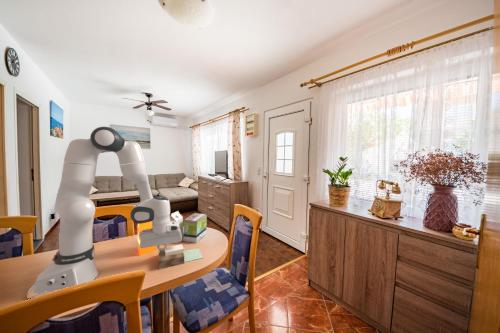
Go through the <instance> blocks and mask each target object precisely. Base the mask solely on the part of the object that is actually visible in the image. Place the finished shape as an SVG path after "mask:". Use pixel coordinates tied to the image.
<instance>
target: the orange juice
mask: <svg viewBox="0 0 500 333" xmlns="http://www.w3.org/2000/svg"><path fill="white" fill-rule="evenodd" d="M151 228H152V222H147V223H142V224H138V223H137V227H136V229H137V250H138V254H139V256H144V255H147V254H151V253H155V252H157V251H158V249H157V246H153V247H148V248H143V249H142V248H140V240H141V239H140V238H139V232H140V231H142V230H144V229H151Z"/></svg>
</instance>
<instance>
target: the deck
mask: <svg viewBox="0 0 500 333" xmlns="http://www.w3.org/2000/svg"><path fill="white" fill-rule="evenodd" d="M183 264H185V262H184V253H178V254H174V255H169V256H165V252H163V253H159V252H158V269H159V270H163V269H166V268H171V267H175V266H180V265H183Z"/></svg>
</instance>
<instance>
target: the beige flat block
mask: <svg viewBox="0 0 500 333" xmlns="http://www.w3.org/2000/svg"><path fill="white" fill-rule="evenodd" d="M184 251H185V250H184V246H183V243H182V244H180V243H179V244H176V245H170V246H167V247H166V249H165V256H169V255H174V254H178V253H183V252H184Z"/></svg>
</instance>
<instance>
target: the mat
mask: <svg viewBox="0 0 500 333" xmlns="http://www.w3.org/2000/svg"><path fill="white" fill-rule="evenodd" d="M183 253H184V263H187V262H192V261H196V260H200V259H201V260H202V259H204V257H203V254H202V252H201V250H200V248H199V247H198V248H197V247H196V248H190V249H187V250H184V252H183Z"/></svg>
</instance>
